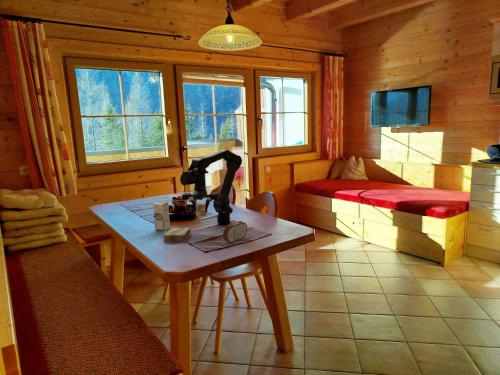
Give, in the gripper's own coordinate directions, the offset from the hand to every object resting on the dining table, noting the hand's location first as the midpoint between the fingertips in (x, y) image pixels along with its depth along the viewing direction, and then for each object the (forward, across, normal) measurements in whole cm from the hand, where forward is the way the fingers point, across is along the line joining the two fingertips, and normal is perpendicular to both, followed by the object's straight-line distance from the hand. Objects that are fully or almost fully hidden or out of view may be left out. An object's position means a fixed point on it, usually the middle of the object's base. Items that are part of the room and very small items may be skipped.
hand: (201, 212), depth 177 cm
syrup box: (+10, -22, +3) cm, 24 cm away
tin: (+10, +19, -16) cm, 27 cm away
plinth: (+10, -10, -12) cm, 18 cm away
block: (+1, 0, 0) cm, 1 cm away
